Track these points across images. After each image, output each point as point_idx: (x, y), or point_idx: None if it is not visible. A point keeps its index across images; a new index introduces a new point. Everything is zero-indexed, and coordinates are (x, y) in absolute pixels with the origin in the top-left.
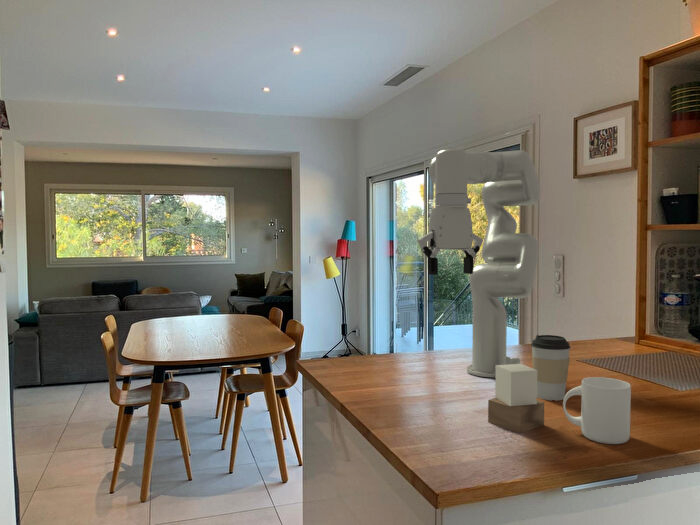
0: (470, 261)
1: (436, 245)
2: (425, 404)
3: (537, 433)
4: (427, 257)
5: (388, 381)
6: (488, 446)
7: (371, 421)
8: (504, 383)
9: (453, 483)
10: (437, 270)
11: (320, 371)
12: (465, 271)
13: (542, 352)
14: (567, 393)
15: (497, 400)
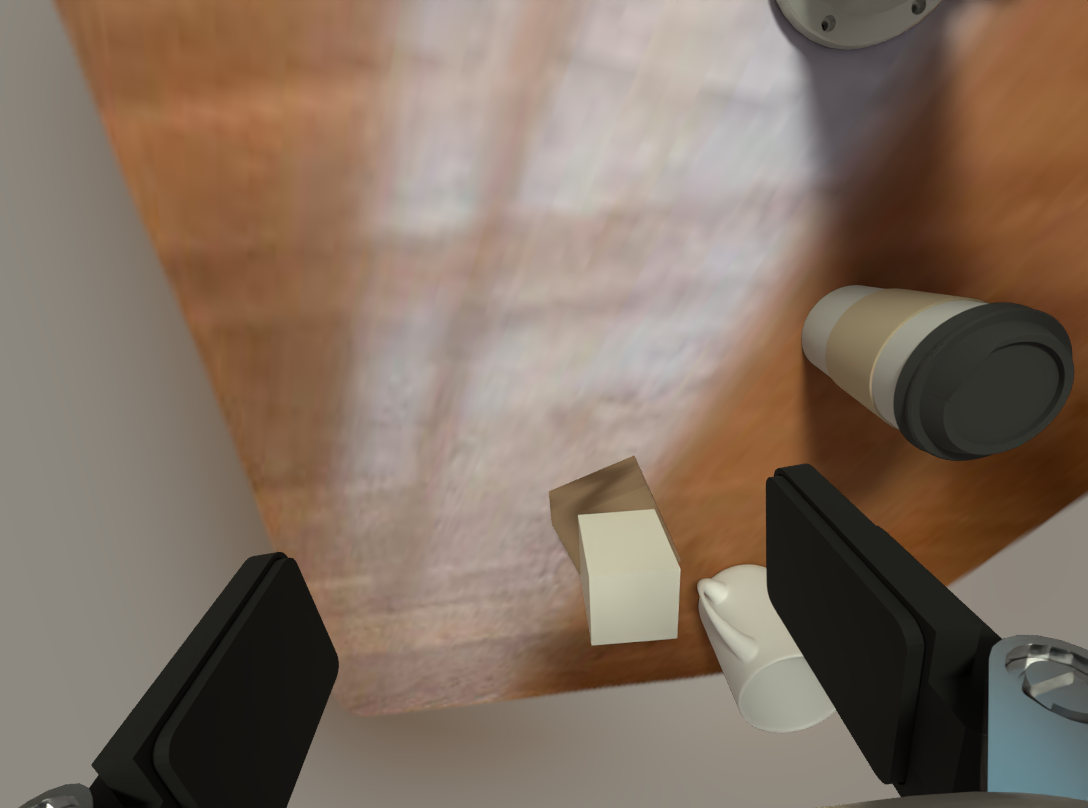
0: (855, 733)
1: None
2: (431, 333)
3: None
4: (62, 800)
5: None
6: (487, 603)
7: (253, 441)
8: (585, 588)
9: (375, 704)
10: (322, 705)
11: None
12: (776, 524)
13: (890, 415)
14: (716, 627)
15: (573, 531)
